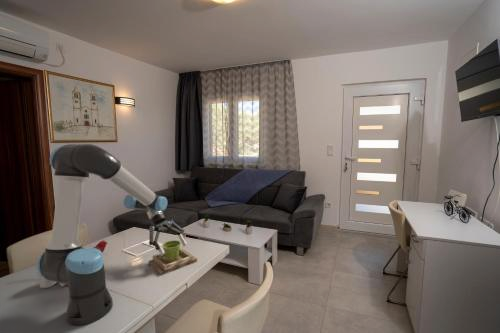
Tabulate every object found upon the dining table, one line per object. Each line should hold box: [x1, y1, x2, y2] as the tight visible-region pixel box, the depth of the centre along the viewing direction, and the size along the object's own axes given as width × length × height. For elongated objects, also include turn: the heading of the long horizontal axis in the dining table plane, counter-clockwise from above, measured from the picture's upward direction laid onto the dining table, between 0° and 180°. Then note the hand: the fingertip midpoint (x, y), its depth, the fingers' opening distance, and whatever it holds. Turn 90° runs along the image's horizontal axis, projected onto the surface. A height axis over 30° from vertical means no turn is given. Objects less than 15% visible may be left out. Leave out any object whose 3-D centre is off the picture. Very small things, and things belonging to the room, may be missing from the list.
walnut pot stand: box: [147, 246, 198, 276], centre depth 134 cm, size 20×16×4 cm
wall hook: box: [35, 271, 67, 289], centre depth 115 cm, size 8×10×10 cm
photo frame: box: [122, 239, 164, 257], centre depth 154 cm, size 15×1×18 cm
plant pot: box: [161, 240, 182, 262], centre depth 134 cm, size 9×9×9 cm
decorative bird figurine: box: [92, 240, 109, 254], centre depth 138 cm, size 3×18×10 cm, turn 129°
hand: (174, 249), depth 132 cm, fingers open, 13 cm apart
